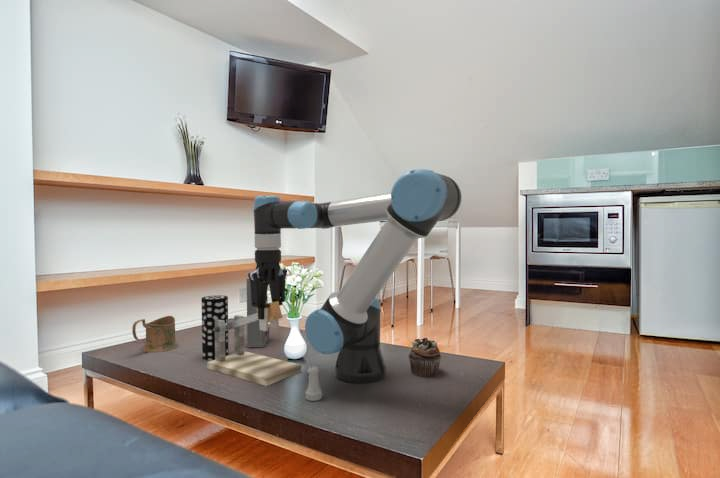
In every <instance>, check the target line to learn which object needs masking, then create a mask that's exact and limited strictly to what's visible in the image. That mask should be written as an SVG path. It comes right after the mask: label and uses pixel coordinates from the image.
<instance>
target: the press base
mask: <svg viewBox="0 0 720 478" xmlns="http://www.w3.org/2000/svg"><path fill="white" fill-rule="evenodd" d="M244 317H245V316H244V315H234V316H233V321H235V320H238V319H241V318H244ZM214 331H215V360H212V361H210V360H208V361H207V362H206V366H207V367H206V369H207V370H211V371H215V372H218V373H221V374H225V375H228V376H231V377H235V378H238V379H241V380H245V381H248V382H252V383H255V384H258V385H262V386H264V387H268V386H270V385H273V384H274V383H278V382H280V381H282V380H284V379H287V378H290V377H292V376H294V375H296V374H299V373H302V364H300V363H295V362H292V361H287V360H283V359H278V358H274V357H269V356H265V355H262V354H257V353H253V352H250V351H249V352H248V351H245V325H243V326H240V327H237V328H235V329H233V331H234V333H233V334H234V336H233V337H234V353H232V354H230V355H229V356H225V321H224V320H215V327H214Z"/></svg>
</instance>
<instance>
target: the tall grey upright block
mask: <svg viewBox="0 0 720 478" xmlns="http://www.w3.org/2000/svg"><path fill="white" fill-rule="evenodd" d="M263 282H265V281H263ZM268 301H269V300H268V297H267V298H266V304H268V303H269V302H268ZM255 313H257V310H256V307H253V306H252V302H251V287H250V279H249V277H247V278H246V317H247V316H249V315H252V314H255ZM246 331H247V332H246V335H247V336H246V338H247V339H246V341H247V343H246V347H247V348H250V349H251V348H264V347H265V345H266V343H267V342H268V340H269V338H270V326H268V331H263V330H260V324H259V320H258V321H255V322H252V323H249V324H246Z"/></svg>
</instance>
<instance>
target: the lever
mask: <svg viewBox="0 0 720 478" xmlns="http://www.w3.org/2000/svg"><path fill="white" fill-rule="evenodd" d="M280 306H281V305H280ZM280 306H279V302H278V301H276V302H272V301H271V302H268V304H266V306H265V308H268V323H270V322H271V321H274V320H277V319H279V320H280V319H283V314H282V310H281V307H280ZM256 310H257V313H255V314H252V315H249V316H247V315H246V316H244V318H241V319H238V320H235V321H234V320H233V321H228V323H225V331H228V332H229V331H231V330H234V329H235V328H237V327H240V326H243V325H244V326H245V325H246V326H247V324H249V323H252V322H255V321H258V320H259V319H258V308H256Z"/></svg>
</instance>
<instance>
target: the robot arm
mask: <svg viewBox="0 0 720 478" xmlns="http://www.w3.org/2000/svg"><path fill="white" fill-rule="evenodd" d="M461 204H462V191H461V189H460V186H459V185H458V184H457V182H456V181H455V180H454V179H453V178H451V177H449V176H448V175H444V174H440V173H438V172H435V171H433V170H430V169H426V168H425V169H423V168H422V169H419V168H418V169H412V170H409V171H406V172H404V173H403V174H402V175H400V176H399V177H398V178H397V179H396V181H395V182H394V183H393V186H392V187H391V191H390V192H387V193H380V194H373V195H367V196H360V197H355V198H347V199H341V200H335V201H334V200H333V201H328V202H322V203H321V202H320V203H315V202H311V201H308V200H296V201H286V202H281V198H280V197H279V196H277V195H258V196H256V197H255V198H254V203H253V219H254V220H253V221H254V249H256V250H254V262H255V263H256V267H255V269H254V271H252V272H249V273H248V274H247V276H248V277H247V278H249V279H250V287H251V302H252V306H253V307H256V308H258V319H259V324H260V330H263V331H268V327H269V328H275V329H279V328H280V327H279V326H280V324H279V322H280V321H279V320H280V319H277V320H274V321H271V322H268V308H265V306H266V298H267V299H268V286H269V292H270V300H271V302H276V301H278V302H279V306H283V303H285V301H286V277H287V273H288V270H287V269H285V268H284V269H283V268H281V266H280V262H281V261H282V250H281V249H280V248H281V247H282V234H281V233H282V232H281V231H282V230H281V229H300V230H301V229H304V230H305V229H323V230H325V229H331V228H332V229H333V228H334V227H340V226H341V227H343V226H350V225H352V226H353V225H358V224H367V223H377V222H384V224H383V225H382V226H381V228H380V229H379V231H378V233H377V235H376V236H375V237H374V239H373V240H372V242H371V243H370V245H369V247H368V248H367V250H366V251H365V252H364V254H363V255H362V257H361V258H360V260H359V261H358V263H357V264H356V266H355V268H353V270H352V272H351V273H350V275H348V278H347V279H346V281H345V282H344V284H343V285H342V287H341V288H340V290H339V291H334V292H331V294H330V295H329V296H328V297H327V298H326V301H325V302H324V303H323V305H322V306H321V308H320V309H315V310H314V311H312V312H311V313H310V314H308V316H307V318H306V320H305V324H304V331H305V333H306V334H305V335H306V339H307V341H308V343H309V344H310V346H311V347H312V348H313V349H314V350H315V351H316V352H318V353H320V354H323V355H332V354H336V353H338V355H337V359H336V362H335V365H334V376H335V377H336V378H337V379H339V380H341V381H344V382H347V383H358V384H361V383H365V384H366V383H373V382H377V381H380V380H382V379H384V378H385V377H386V376H387V365H386V362H385V359H384V356H383V353H382V349H381V311H382V310H381V305H380V304H381V303H380V300H379V298H377V296H378V295H379V294H380V292H381V291H382V290H383V288H384V287H385V285H386V284H387V283H388V281H389V279H390V278H391V277H392V276H393V274H394V273H395V272H396V269H398V267H399V265H400V264H401V263H402V261H403V260H404V259H405V257H406V256H407V254H408V252H409V251H410V249H412V247H413V246H414V244H415V243H416V241H417V240H419V239H422V238H427V237H428V235H430V233H431V231H432V230H433V229H434V227H435V226H436V225H437V223H438V222H443V221H446V220H448V219H451V218H452V217H453V216H455V214H456V213H457V212H458V211H459V209H460V207H461ZM263 281H265V282H263ZM269 324H270V326H269Z"/></svg>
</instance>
